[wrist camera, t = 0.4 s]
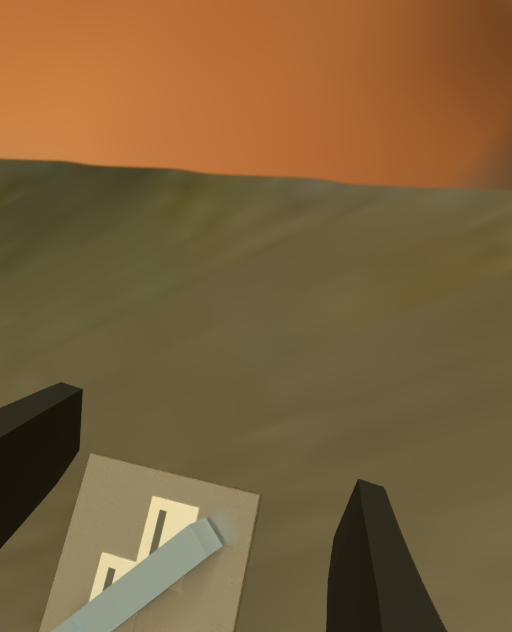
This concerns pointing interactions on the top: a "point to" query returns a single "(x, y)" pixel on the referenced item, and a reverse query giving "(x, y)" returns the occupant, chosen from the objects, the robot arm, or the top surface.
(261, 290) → the top surface
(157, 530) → the power supply label
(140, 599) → the swing arm
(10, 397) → the top surface
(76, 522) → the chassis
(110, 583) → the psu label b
